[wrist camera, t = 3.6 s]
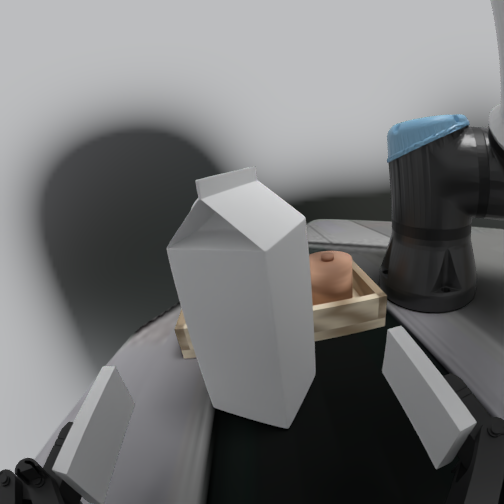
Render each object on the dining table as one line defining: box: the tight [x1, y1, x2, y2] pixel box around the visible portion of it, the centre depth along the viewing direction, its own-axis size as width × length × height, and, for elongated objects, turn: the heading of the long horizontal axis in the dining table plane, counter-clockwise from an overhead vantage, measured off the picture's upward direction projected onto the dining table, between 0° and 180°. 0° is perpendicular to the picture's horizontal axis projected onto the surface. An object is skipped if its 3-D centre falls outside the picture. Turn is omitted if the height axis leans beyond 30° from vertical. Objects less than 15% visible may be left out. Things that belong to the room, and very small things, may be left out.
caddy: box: [175, 251, 387, 359], centre depth 36 cm, size 23×13×7 cm, turn 92°
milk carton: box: [167, 167, 316, 429], centre depth 21 cm, size 7×7×19 cm
